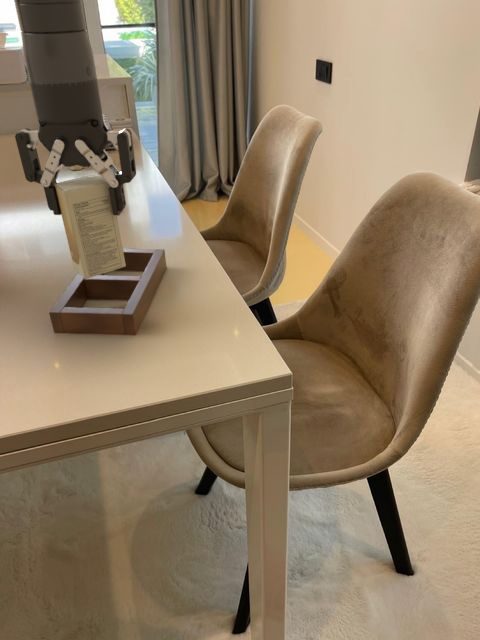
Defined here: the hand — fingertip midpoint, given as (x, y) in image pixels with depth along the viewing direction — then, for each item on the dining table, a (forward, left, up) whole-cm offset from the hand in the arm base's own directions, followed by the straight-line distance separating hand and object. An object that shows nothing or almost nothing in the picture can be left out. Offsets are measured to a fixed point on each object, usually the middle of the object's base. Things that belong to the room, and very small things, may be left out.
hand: (88, 213), depth 74 cm
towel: (-36, +101, -17) cm, 108 cm away
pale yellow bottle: (-32, +80, -17) cm, 88 cm away
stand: (0, +5, -17) cm, 18 cm away
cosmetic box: (0, 0, -8) cm, 8 cm away
